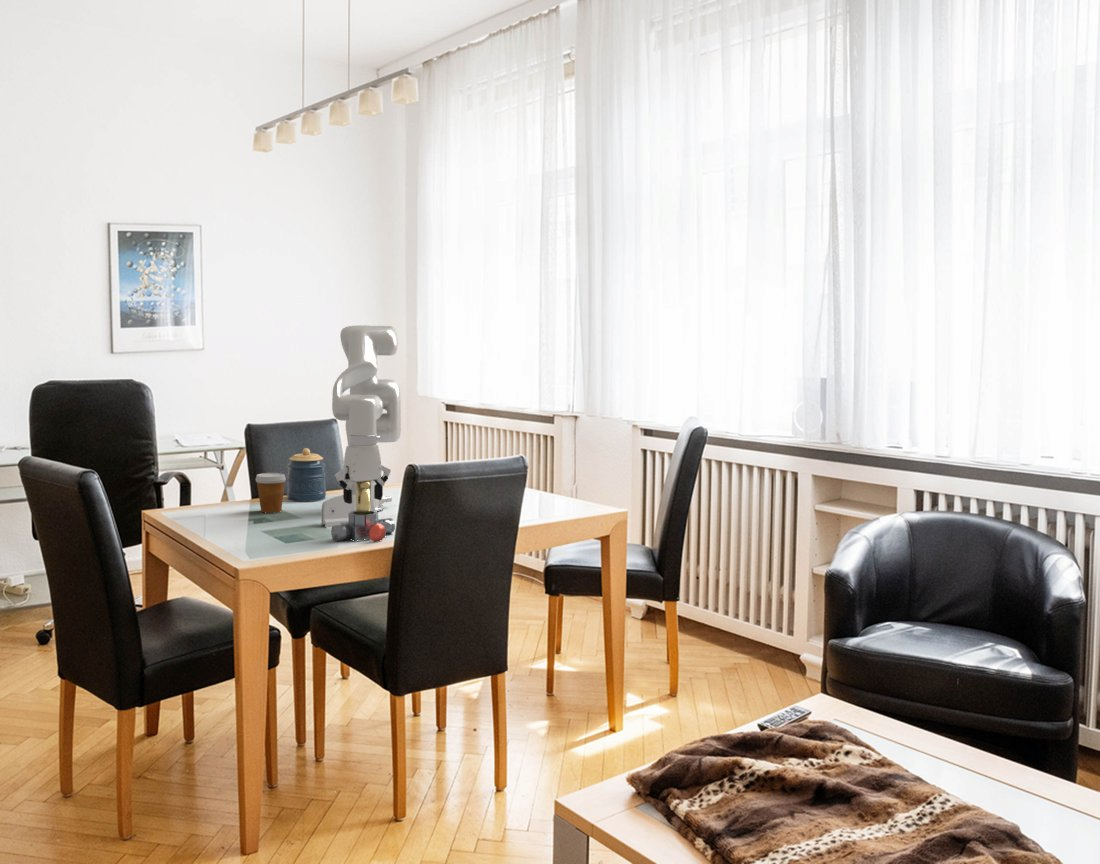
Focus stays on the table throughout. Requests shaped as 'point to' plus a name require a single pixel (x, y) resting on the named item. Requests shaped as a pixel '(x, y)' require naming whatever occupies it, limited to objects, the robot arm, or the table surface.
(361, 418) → the robot arm
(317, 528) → the table surface
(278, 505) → the disposable coffee cup
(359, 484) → the brass cylinder
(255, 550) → the table surface
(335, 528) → the valve body
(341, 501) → the white slotted block
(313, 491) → the canister
